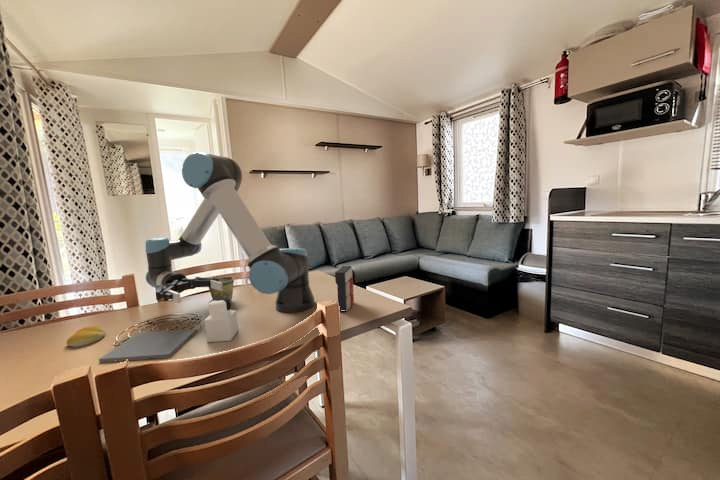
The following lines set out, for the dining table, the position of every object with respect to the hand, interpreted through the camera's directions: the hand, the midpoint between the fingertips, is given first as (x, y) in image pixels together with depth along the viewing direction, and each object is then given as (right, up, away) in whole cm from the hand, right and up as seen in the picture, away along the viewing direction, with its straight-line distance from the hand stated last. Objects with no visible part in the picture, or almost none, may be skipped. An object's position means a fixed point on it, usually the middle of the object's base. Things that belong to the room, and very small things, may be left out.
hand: (201, 292), depth 95 cm
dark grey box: (+46, -9, +18) cm, 50 cm away
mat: (-10, -14, -8) cm, 19 cm away
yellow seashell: (-34, -15, -3) cm, 38 cm away
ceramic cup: (-6, -9, +29) cm, 31 cm away
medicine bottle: (+9, -13, -4) cm, 17 cm away
